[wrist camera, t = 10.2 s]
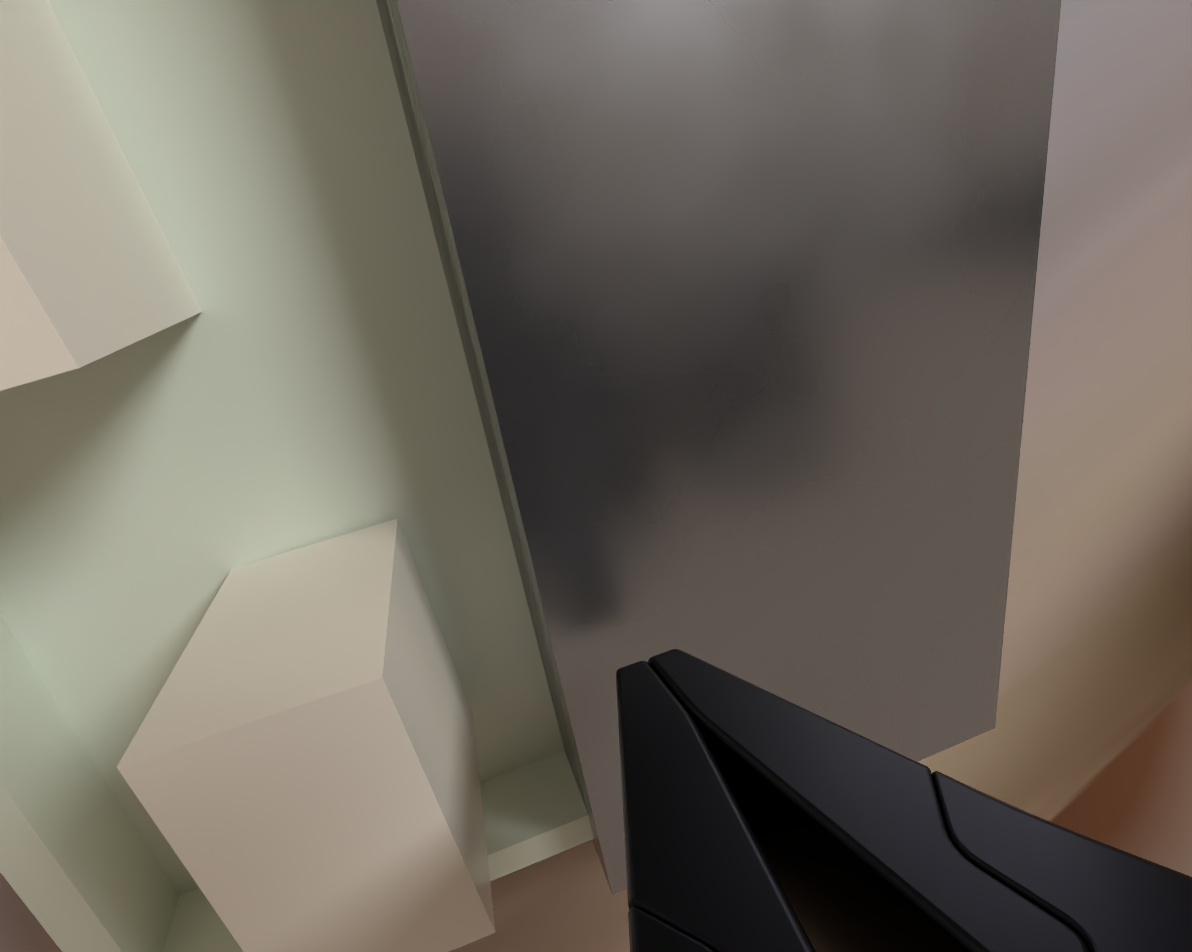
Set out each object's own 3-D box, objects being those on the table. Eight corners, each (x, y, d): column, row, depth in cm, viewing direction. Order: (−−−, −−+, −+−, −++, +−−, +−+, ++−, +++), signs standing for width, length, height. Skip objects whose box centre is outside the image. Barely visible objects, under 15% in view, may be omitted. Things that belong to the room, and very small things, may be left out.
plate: (894, -483, 8) (1136, -816, 6) (887, 642, 16) (994, 727, 13) (240, -519, 7) (151, -1017, 4) (565, 765, 14) (611, 894, 11)
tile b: (382, 676, 6) (116, 768, 6) (495, 932, 8) (287, 1016, 8) (397, 518, 10) (231, 568, 10) (473, 714, 12) (332, 764, 11)
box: (312, -461, 7) (289, -730, 5) (589, 740, 14) (625, 826, 12) (-746, -504, 5) (-1411, -940, 3) (166, 900, 12) (124, 1032, 10)
